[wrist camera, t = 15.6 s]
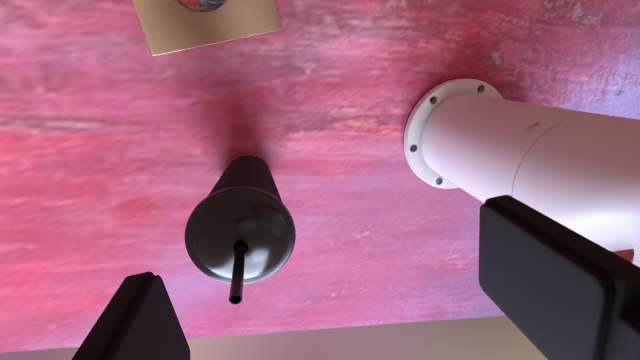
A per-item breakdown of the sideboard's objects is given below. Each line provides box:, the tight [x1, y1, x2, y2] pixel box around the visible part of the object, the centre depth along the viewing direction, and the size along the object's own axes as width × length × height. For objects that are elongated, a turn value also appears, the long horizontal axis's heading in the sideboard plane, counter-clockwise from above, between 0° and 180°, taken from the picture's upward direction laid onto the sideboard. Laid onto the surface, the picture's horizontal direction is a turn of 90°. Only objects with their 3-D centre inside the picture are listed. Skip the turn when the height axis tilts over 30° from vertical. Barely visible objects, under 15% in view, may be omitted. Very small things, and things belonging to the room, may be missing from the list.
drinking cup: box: [185, 156, 296, 304], centre depth 27 cm, size 8×8×20 cm
